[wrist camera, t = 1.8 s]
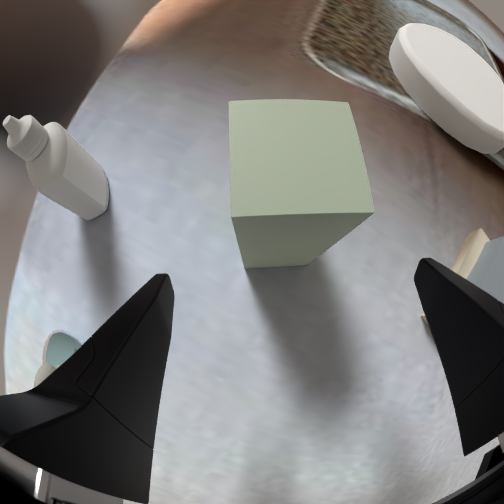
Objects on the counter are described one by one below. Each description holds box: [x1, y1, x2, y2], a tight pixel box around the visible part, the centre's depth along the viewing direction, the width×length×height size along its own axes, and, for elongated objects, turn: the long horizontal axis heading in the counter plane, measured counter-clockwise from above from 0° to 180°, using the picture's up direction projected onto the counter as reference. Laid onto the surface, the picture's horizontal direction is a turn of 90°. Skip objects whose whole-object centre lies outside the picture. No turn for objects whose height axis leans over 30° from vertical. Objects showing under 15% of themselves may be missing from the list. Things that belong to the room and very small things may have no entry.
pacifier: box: [34, 330, 82, 388], centre depth 16 cm, size 7×6×6 cm
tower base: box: [421, 228, 490, 324], centre depth 19 cm, size 10×10×2 cm
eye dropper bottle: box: [3, 115, 109, 220], centre depth 15 cm, size 4×6×12 cm
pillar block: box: [229, 99, 375, 268], centre depth 15 cm, size 4×4×12 cm
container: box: [389, 23, 504, 154], centre depth 22 cm, size 20×20×5 cm
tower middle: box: [467, 236, 504, 304], centre depth 16 cm, size 8×8×2 cm
